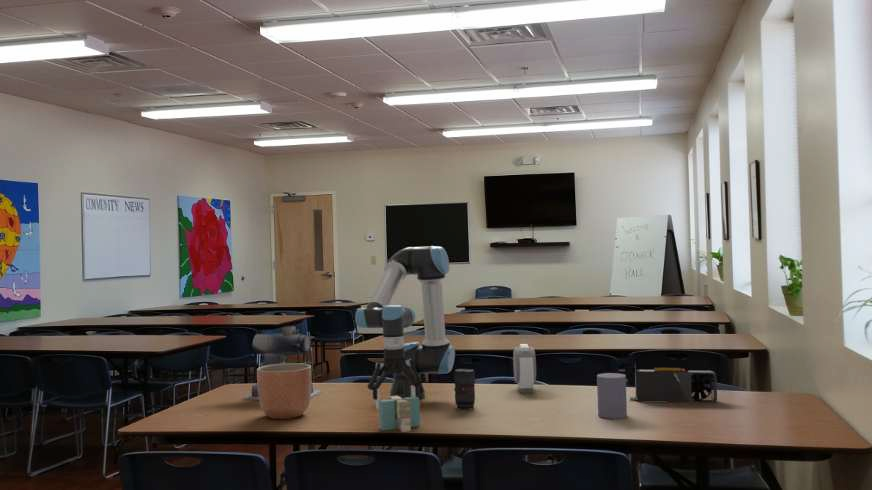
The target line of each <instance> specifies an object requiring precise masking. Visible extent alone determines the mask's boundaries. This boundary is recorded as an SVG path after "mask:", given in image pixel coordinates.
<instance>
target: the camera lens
mask: <svg viewBox="0 0 872 490" xmlns="http://www.w3.org/2000/svg"><path fill="white" fill-rule="evenodd" d="M453 375H454V400H455V401H454V402H455V405H456V409H458V410H463V409H465V410H472V409H474V407H475V400H476V392H475V391H476V390H475V389H476V387H475V384H476V383H475V382H476V376H475V375H476V374H475V370H474V369H470V368H458V369H455V370H454V374H453Z"/></svg>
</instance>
